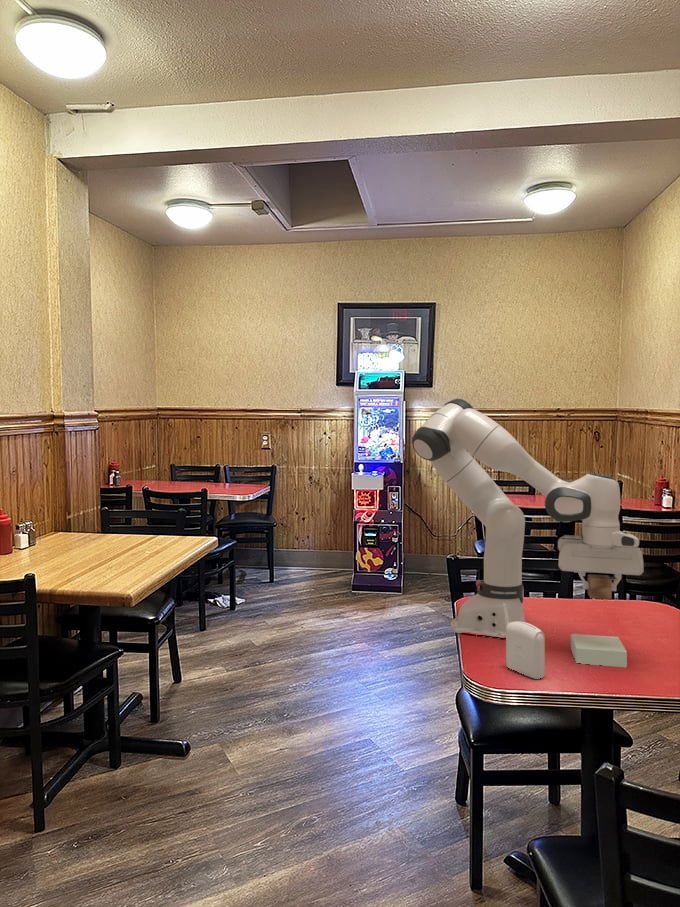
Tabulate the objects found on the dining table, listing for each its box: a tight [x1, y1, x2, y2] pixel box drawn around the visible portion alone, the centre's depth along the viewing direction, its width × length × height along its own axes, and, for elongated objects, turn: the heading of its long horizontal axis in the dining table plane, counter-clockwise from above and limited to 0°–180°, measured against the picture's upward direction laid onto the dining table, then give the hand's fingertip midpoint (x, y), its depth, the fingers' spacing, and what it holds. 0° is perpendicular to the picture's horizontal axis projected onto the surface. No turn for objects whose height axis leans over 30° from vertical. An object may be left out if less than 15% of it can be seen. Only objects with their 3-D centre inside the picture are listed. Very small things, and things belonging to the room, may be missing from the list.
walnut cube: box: [587, 574, 613, 600], centre depth 163 cm, size 5×5×5 cm
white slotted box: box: [505, 621, 546, 680], centre depth 156 cm, size 10×4×12 cm, turn 32°
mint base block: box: [570, 633, 628, 669], centre depth 167 cm, size 12×12×4 cm
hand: (599, 589), depth 163 cm, fingers closed on walnut cube, 5 cm apart
